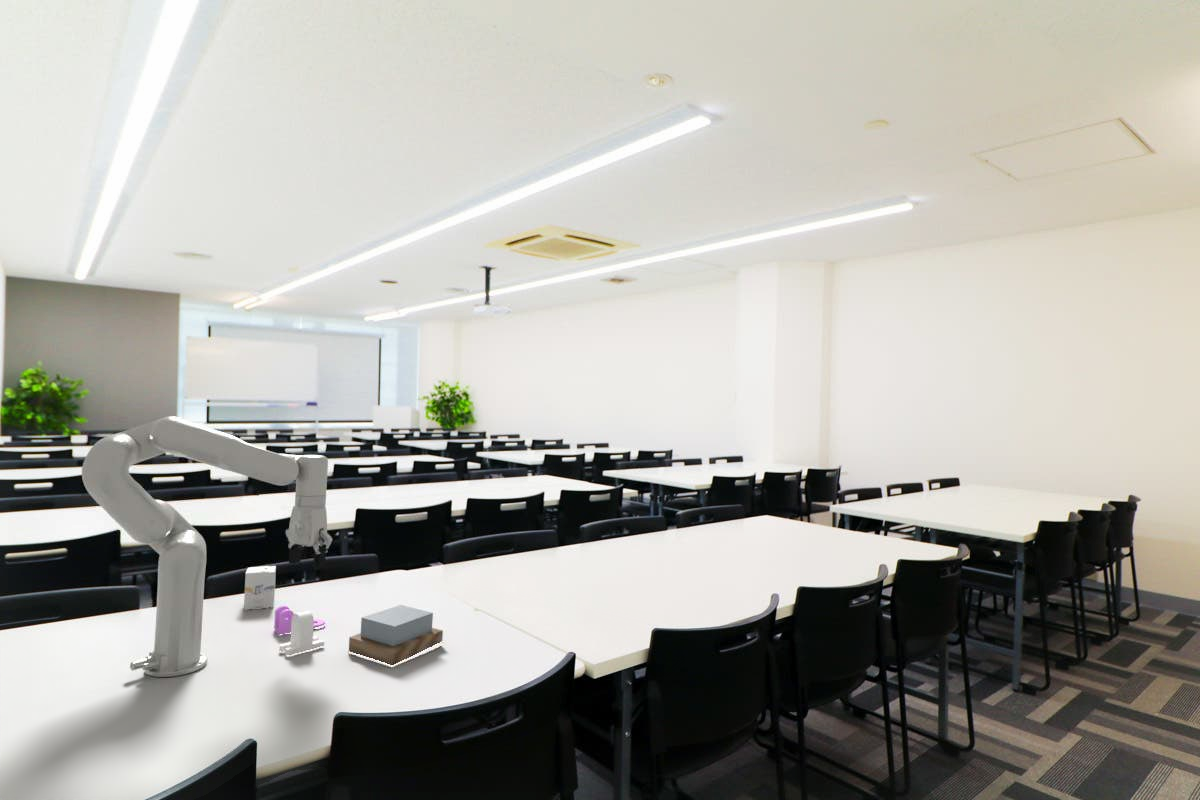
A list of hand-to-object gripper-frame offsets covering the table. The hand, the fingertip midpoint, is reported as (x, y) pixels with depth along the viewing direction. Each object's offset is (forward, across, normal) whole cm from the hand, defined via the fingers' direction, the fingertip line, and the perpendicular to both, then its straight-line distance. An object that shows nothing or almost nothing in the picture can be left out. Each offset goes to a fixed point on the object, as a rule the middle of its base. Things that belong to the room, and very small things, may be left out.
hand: (306, 565), depth 170 cm
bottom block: (+23, +20, +14) cm, 33 cm away
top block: (+18, +20, +14) cm, 30 cm away
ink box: (+22, -42, +16) cm, 51 cm away
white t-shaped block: (+22, 0, 0) cm, 23 cm away
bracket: (+23, -14, +10) cm, 28 cm away
